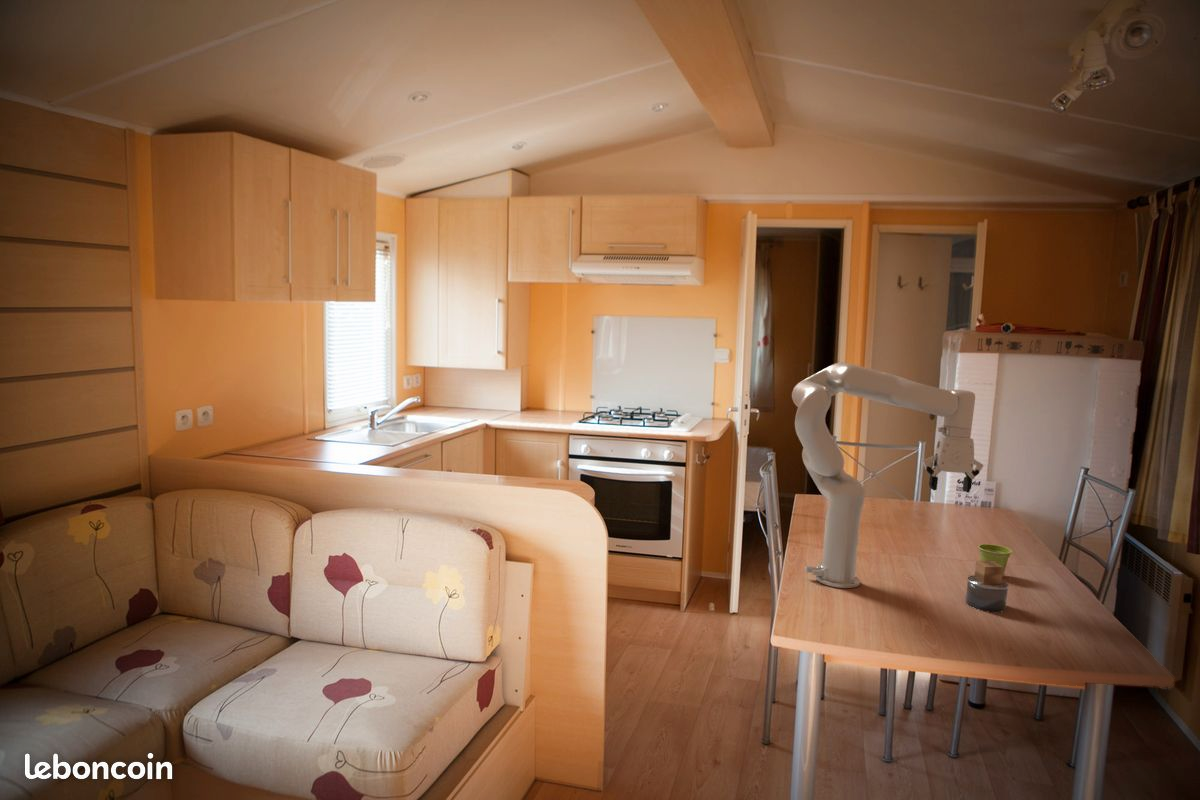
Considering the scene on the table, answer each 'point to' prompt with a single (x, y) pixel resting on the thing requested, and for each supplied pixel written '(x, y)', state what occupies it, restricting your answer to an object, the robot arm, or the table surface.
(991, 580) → the walnut block
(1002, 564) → the plant pot
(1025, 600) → the table surface
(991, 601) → the black tin
